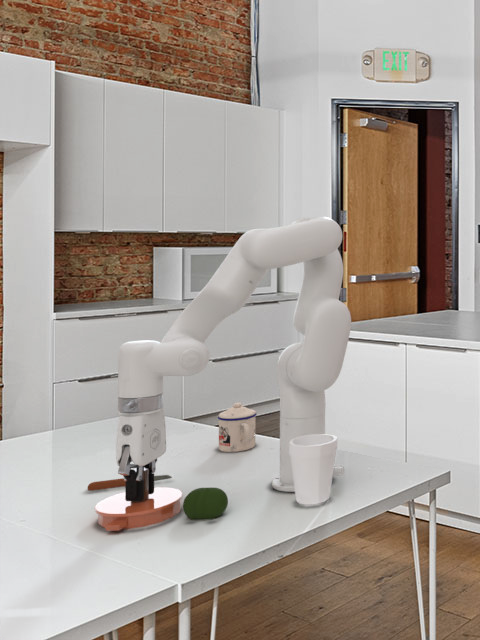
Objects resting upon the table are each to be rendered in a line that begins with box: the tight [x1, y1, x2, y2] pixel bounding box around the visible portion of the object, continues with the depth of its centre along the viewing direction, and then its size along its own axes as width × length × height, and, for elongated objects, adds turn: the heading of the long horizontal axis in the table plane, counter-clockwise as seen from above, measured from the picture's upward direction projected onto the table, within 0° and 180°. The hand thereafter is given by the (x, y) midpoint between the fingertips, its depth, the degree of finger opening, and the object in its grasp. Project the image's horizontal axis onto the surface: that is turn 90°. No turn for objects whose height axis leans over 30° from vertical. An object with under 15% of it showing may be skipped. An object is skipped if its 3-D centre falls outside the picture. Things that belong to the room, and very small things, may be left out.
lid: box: [94, 467, 183, 517], centre depth 145 cm, size 15×15×7 cm
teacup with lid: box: [217, 402, 257, 453], centre depth 192 cm, size 12×9×12 cm
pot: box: [97, 499, 182, 532], centre depth 145 cm, size 14×19×3 cm
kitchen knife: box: [87, 474, 172, 491], centre depth 162 cm, size 16×1×2 cm, turn 117°
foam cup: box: [289, 433, 338, 506], centre depth 154 cm, size 10×9×13 cm
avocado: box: [182, 487, 229, 521], centre depth 144 cm, size 8×6×6 cm
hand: (139, 496), depth 145 cm, fingers closed on lid, 3 cm apart
